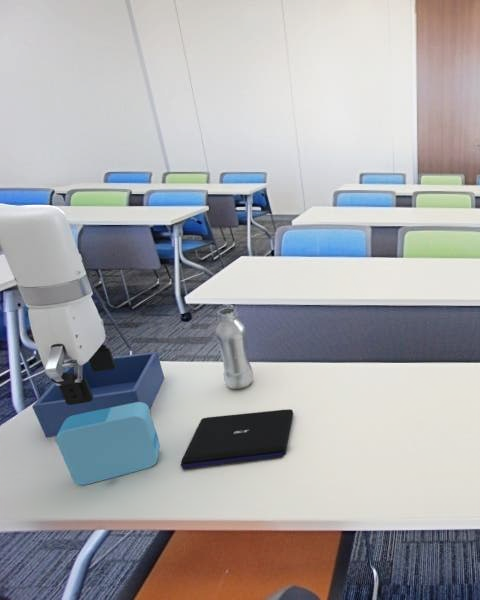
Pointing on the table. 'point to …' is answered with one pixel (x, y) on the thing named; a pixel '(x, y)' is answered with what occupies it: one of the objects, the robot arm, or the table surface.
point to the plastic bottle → (233, 349)
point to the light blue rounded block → (108, 442)
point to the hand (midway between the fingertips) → (93, 384)
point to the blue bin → (104, 390)
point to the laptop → (239, 438)
